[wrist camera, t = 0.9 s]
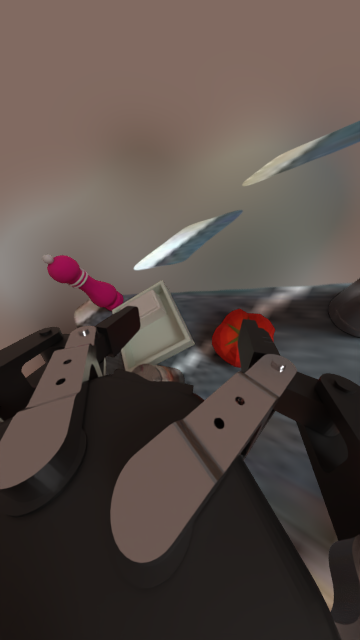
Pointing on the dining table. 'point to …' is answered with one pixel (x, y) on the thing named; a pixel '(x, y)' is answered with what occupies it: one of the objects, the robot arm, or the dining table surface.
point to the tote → (157, 334)
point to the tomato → (235, 334)
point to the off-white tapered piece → (148, 308)
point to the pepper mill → (82, 281)
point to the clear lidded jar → (159, 373)
